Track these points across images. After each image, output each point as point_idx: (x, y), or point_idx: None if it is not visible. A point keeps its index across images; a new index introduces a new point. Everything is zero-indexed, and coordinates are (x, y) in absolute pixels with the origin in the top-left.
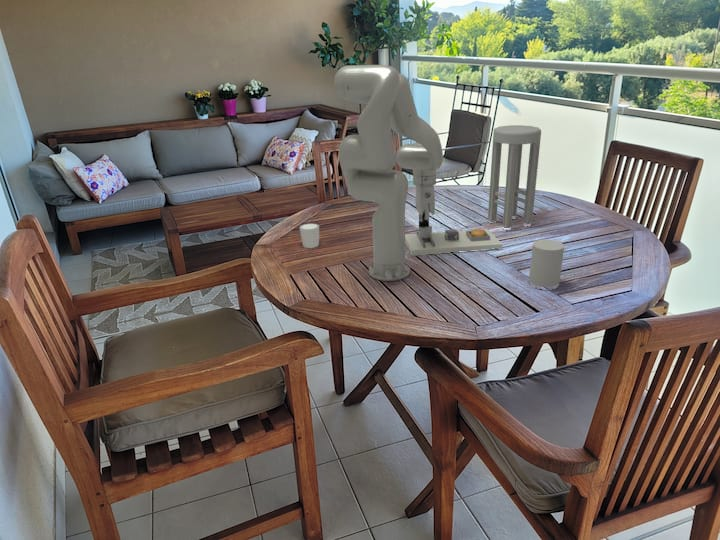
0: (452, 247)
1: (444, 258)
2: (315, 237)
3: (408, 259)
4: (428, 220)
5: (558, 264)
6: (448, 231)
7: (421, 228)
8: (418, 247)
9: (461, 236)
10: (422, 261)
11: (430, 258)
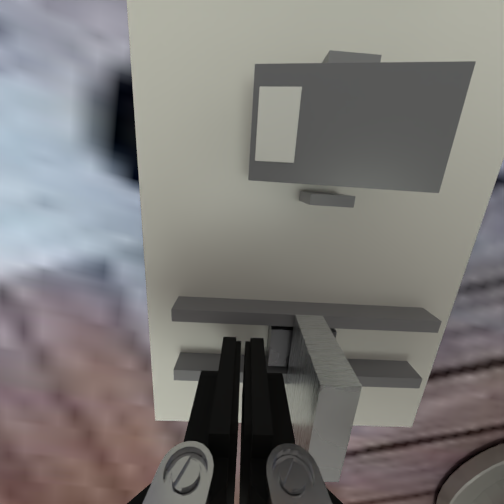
0: (489, 195)
1: (497, 261)
2: None
3: (422, 415)
4: (320, 483)
5: None
6: (360, 176)
7: (338, 463)
8: (386, 391)
9: (286, 18)
10: (474, 369)
11: (459, 328)
